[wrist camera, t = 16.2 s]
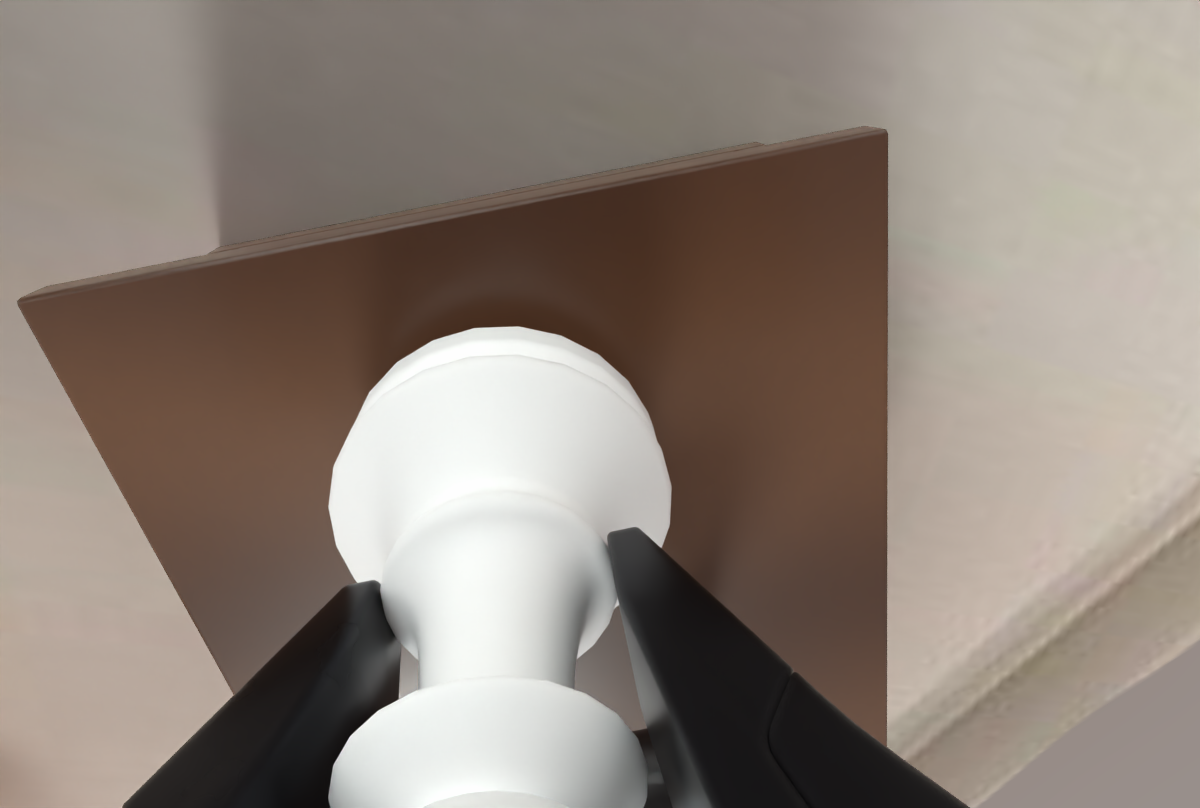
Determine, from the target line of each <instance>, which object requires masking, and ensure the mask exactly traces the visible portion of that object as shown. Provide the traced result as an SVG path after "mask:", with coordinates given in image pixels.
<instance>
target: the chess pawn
mask: <svg viewBox="0 0 1200 808" xmlns="http://www.w3.org/2000/svg"><path fill="white" fill-rule="evenodd" d="M671 491H672V486H671V482H670V478H669V475H668V471H667V467H666V463H665V460H664V456H663V452H662V449H661V447H660V445H659V444H658V442H657V439H656V435H655V432H654V428H653V425H652V422H651V419H650V416H649V414H648V412H647V410H646V408H645V407H644V405H643V404H642V402H641V400H640V399H639V397H638V396H637V394H636V392H635V391H634V389H633V388H632V386H631V385H630V383H629V381H628V380H627V379H626V378H625V377H623V376H622V375H621V374H620V373H619V372H618V371H617V370H616V369H614V368H613V367H612V366H611V365H610V364H609V363H608V362H607V361H605V360H604V359H603V358H602V357H601V356H600V355H599V354H597V353H595V352H593V351H591V350H589V349H587V348H585V347H583V346H581V345H579V344H577V343H575V342H573V341H571V340H569V339H567V338H565V337H563V336H561V335H556V334H552V333H547V332H542V331H538V330H533V329H528V328H524V327H519V326H516V327H488V328H473V329H470V330H466V331H463V332H459V333H456V334H453V335H449V336H446V337H442V338H439V339H436V340H433V341H431V342H429V343H428V344H426V345H424V346H423V347H421V348H419V349H418V350H416V351H415V352H413V353H411V354H410V355H408V356H406V357H405V358H403V359H401V360H400V361H398V362H397V363H396V364H395V365H394V366H393V367H392V368H391V369H390V370H389V371H388V372H387V373H386V375H385V376H384V377H383V378H382V379H381V380H380V381H379V382H378V383H377V384H376V385H375V386H374V388H373V389H372V390H371V391H370V392H369V394H368V396H367V398H366V400H365V402H364V404H363V406H362V408H361V410H360V412H359V415H358V417H357V419H356V421H355V423H354V425H353V427H352V428H351V430H350V432H349V434H348V437H347V439H346V441H345V443H344V445H343V447H342V449H341V451H340V453H339V455H338V458H337V460H336V462H335V464H334V466H333V473H332V481H331V489H330V497H329V505H328V508H329V513H330V518H331V523H332V528H333V533H334V538H335V542H336V546H337V548H338V550H339V552H340V554H341V556H342V557H343V559H344V561H345V563H346V565H347V567H348V568H349V570H350V572H351V574H352V576H353V578H354V579H355V581H356V582H357V583H359V582H364V581H369V580H376V581H378V582H379V583H380V584H381V587H380V593H381V599H382V605H383V609H384V613H385V617H386V619H387V621H388V623H389V625H390V627H391V629H392V631H393V633H394V635H395V637H396V639H397V640H398V641H399V642H400V643H401V644H402V645H403V646H404V647H405V648H406V649H407V650H408V651H409V652H410V653H411V654H412V655H413V656H414V657H415V658H416V659H418V660H419V675H418V690H416V691H414V692H412V693H410V694H408V695H406V696H405V697H403V698H401V699H399V700H397V701H395V702H393V703H391V704H389V705H387V706H386V707H384V708H382V709H380V710H378V711H377V712H376V713H375V714H374V715H373V716H372V717H370V718H369V719H368V720H367V721H366V722H365V723H364V724H363V725H362V726H361V727H359V728H358V729H357V730H356V731H355V732H354V733H353V734H352V735H351V736H350V737H349V739H348V741H347V742H346V744H345V746H344V748H343V749H342V751H341V753H340V754H339V756H338V758H337V760H336V761H335V763H334V765H333V769H332V776H331V782H330V789H329V795H328V800H329V804H330V808H643V807H644V805H645V802H646V799H647V785H648V765H647V762H646V759H645V757H644V754H643V751H642V748H641V746H640V743H639V740H638V738H637V737H636V735H635V734H634V733H633V732H632V731H631V730H630V728H629V727H628V726H627V725H626V724H625V723H624V721H623V720H622V719H621V718H620V717H619V715H618V714H617V713H615V712H614V711H612V710H611V709H609V708H608V707H606V706H605V705H603V704H601V703H600V702H598V701H597V700H595V699H594V698H592V697H591V696H589V695H587V694H586V693H583V692H580V691H577V690H574V685H575V667H576V661H577V659H578V658H579V657H580V656H581V655H583V654H584V653H585V652H586V651H587V650H588V649H590V648H591V647H592V646H593V645H594V644H595V643H596V641H597V640H598V638H599V637H600V636H601V634H602V633H603V631H604V630H605V629H606V627H607V626H608V624H609V622H610V619H611V616H612V613H613V610H614V609H615V608H616V607H617V606H618V605H619V602H618V597H617V593H616V588H615V583H614V577H613V571H612V565H611V559H610V553H609V547H608V541H607V535H608V534H609V533H610V532H612V531H616V530H621V529H626V528H631V527H638V528H640V529H641V530H642V531H643V532H644V533H645V534H646V535H647V536H649V537H650V538H651V539H652V540H653V541H654V542H655V543H656V544H657V545H658V546H659V547H661V548H662V546H663V543H664V540H665V537H666V534H667V532H668V529H669V526H670V513H671Z"/></svg>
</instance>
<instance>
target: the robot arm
mask: <svg viewBox="0 0 1200 808" xmlns="http://www.w3.org/2000/svg"><path fill="white" fill-rule="evenodd" d="M607 541H608V547H609V553H610V559H611V565H612V571H613V577H614V583H615V588H616V593H617V597H618V602H619V607H620V612H621V616H622V621H623V626H624V631H625V636H626V640H627V645H628V650H629V655H630V659H631V664H632V669H633V674H634V678H635V683H636V688H637V693H638V697H639V702H640V706H641V710H642V713H643V717H644V720H645V723H646V727H647V730H648V733H649V736H650V739H651V742H652V745H653V748H654V751H655V754H656V758H657V761H658V764H659V767H660V770H661V773H662V776H663V779H664V782H665V785H666V788H667V792H668V795H669V798H670V801H671V804H672V807H673V808H970V807H968V806H967V805H966V804H964V803H963V802H961V801H960V800H959V799H957V798H956V797H954V796H953V795H952V794H950V793H949V792H948V791H946V790H945V789H943V788H942V787H941V786H939V785H938V784H936V783H935V782H934V781H932V780H931V779H930V778H928V777H927V776H925V775H924V774H923V773H921V772H920V771H918V770H917V769H916V768H914V767H913V766H912V765H910V764H909V763H907V762H906V761H905V760H903V759H902V758H900V757H899V756H898V755H897V754H895V753H894V752H893V751H891V750H890V749H889V748H887V747H886V746H885V745H883V744H882V743H881V742H879V741H878V740H877V739H875V738H874V737H873V736H871V735H870V734H869V733H867V732H866V731H865V730H863V729H862V728H861V727H860V726H858V725H857V724H856V723H854V722H853V721H852V720H851V719H850V718H849V717H847V716H846V715H845V714H844V713H843V712H842V711H840V710H839V709H838V708H837V707H836V706H835V705H833V704H832V703H831V702H830V701H829V700H828V699H826V698H825V697H824V696H823V695H822V694H821V693H819V692H818V691H817V690H816V689H815V688H814V687H813V686H812V685H811V684H810V683H809V682H808V681H807V680H805V679H804V678H803V677H802V676H801V675H800V674H799V673H797V672H794V671H793V668H792V667H791V666H790V665H789V664H788V663H786V662H785V661H784V660H783V659H782V658H781V657H780V656H779V655H778V654H777V653H775V652H774V651H773V650H772V649H771V648H770V647H769V646H768V645H767V644H766V643H765V642H763V641H762V640H761V639H760V638H759V637H758V636H757V635H756V634H755V633H754V632H753V631H751V630H750V629H749V628H748V627H747V626H746V625H745V624H744V623H743V622H742V621H740V620H739V619H738V618H737V617H736V616H735V615H734V614H733V613H732V612H731V611H730V610H728V609H727V608H726V607H725V606H724V605H723V604H722V603H721V602H720V601H719V600H717V599H716V598H715V597H714V596H713V595H712V594H711V593H710V592H709V591H708V590H707V589H705V588H704V587H703V586H702V585H701V584H700V583H699V582H698V581H697V580H696V579H694V578H693V577H692V576H691V575H690V574H689V573H688V572H687V571H686V570H685V569H684V568H682V567H681V566H680V565H679V564H678V563H677V562H676V561H675V560H674V559H673V558H672V557H670V556H669V555H668V554H667V553H666V552H665V551H664V550H663V549H662V548H661V547H659V546H658V545H657V544H656V543H655V542H654V541H653V540H652V539H651V538H650V537H649V536H647V535H646V534H645V533H644V532H643V531H642V530H641V529H640V528H638V527H631V528H626V529H621V530H616V531H612V532H610V533H609V534H608V535H607ZM380 587H381V584H380V583H379V582H378V581H376V580H369V581H364V582H359V583H354V584H350V585H347V586H345V587H343V588H342V589H341V590H340V591H339V592H338V593H337V594H336V595H335V596H334V597H333V598H332V599H331V600H330V601H329V602H328V603H327V604H326V605H325V606H324V607H323V608H322V609H321V610H320V611H319V612H318V613H317V614H316V615H315V616H314V617H313V618H312V619H311V620H310V621H309V622H308V623H307V624H306V625H305V626H304V627H303V628H302V629H301V630H300V631H299V632H297V633H296V634H295V635H294V636H293V637H292V638H291V639H290V640H289V641H288V642H287V643H286V644H285V645H284V646H283V647H282V648H281V649H280V650H279V651H278V652H277V653H276V654H275V655H274V656H273V657H272V658H271V659H270V660H269V661H268V662H267V663H266V664H265V665H264V666H263V667H262V668H261V669H260V670H259V671H258V672H257V673H256V674H255V675H254V676H253V677H252V678H251V679H250V680H249V681H248V682H247V683H246V684H245V685H244V686H243V687H242V688H241V689H240V690H239V691H238V692H237V693H236V694H235V695H234V696H233V697H232V698H231V699H230V700H229V701H228V702H227V703H226V704H225V705H224V706H223V707H222V708H221V709H220V710H219V711H218V712H217V713H216V714H215V715H214V716H213V717H212V718H211V719H210V720H209V721H208V722H207V723H205V724H204V725H203V726H202V727H201V728H200V729H199V730H198V731H197V732H196V733H195V734H194V735H193V736H192V737H191V738H190V739H189V740H188V741H187V742H186V743H185V744H184V745H183V746H182V747H181V748H180V749H179V750H178V751H177V752H176V753H175V754H174V755H173V756H172V757H171V758H170V759H169V760H168V761H167V762H166V763H165V764H164V765H163V766H162V767H161V768H160V769H159V770H158V771H157V772H156V773H155V774H154V775H153V776H152V777H151V778H150V779H149V780H148V781H147V782H146V783H145V784H144V785H143V786H142V787H141V788H140V789H139V790H138V791H137V792H136V793H135V794H134V795H133V796H132V797H131V798H130V799H129V800H128V801H127V802H125V803H124V805H123V807H122V808H330V804H329V800H328V795H329V789H330V782H331V776H332V769H333V765H334V763H335V761H336V760H337V758H338V756H339V754H340V753H341V751H342V749H343V748H344V746H345V744H346V742H347V741H348V739H349V737H350V736H351V735H352V734H353V733H354V732H355V731H356V730H357V729H358V728H359V727H361V726H362V725H363V724H364V723H365V722H366V721H367V720H368V719H369V718H370V717H372V716H373V715H374V714H375V713H376V712H377V711H378V710H380V709H382V708H384V707H386V706H387V705H389V704H391V703H393V702H395V701H397V700H399V682H400V661H401V643H400V642H399V641H398V640H397V639H396V637H395V635H394V633H393V631H392V629H391V627H390V625H389V623H388V621H387V619H386V617H385V613H384V609H383V605H382V599H381V593H380Z"/></svg>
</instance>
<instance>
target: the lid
mask: <svg viewBox="0 0 1200 808" xmlns="http://www.w3.org/2000/svg"><path fill="white" fill-rule="evenodd" d="M17 304H18V306H19V308H20V310H21V312H22V314H23V315H24V317H25V319H26V321H27V323H28V324H29V326H30V328H31V330H32V332H33V333H34V335H35V337H36V339H37V341H38V343H39V344H40V346H41V348H42V350H43V352H44V353H45V355H46V357H47V359H48V361H49V362H50V364H51V366H52V368H53V370H54V371H55V373H56V375H57V377H58V379H59V380H60V382H61V384H62V386H63V388H64V389H65V391H66V393H67V395H68V397H69V398H70V400H71V402H72V404H73V406H74V407H75V409H76V411H77V413H78V415H79V416H80V418H81V420H82V422H83V424H84V425H85V427H86V429H87V431H88V433H89V434H90V436H91V438H92V440H93V442H94V443H95V445H96V447H97V449H98V451H99V452H100V454H101V456H102V458H103V460H104V461H105V463H106V465H107V467H108V469H109V470H110V472H111V474H112V476H113V478H114V480H115V481H116V483H117V485H118V487H119V489H120V490H121V492H122V494H123V496H124V498H125V499H126V501H127V503H128V505H129V507H130V508H131V510H132V512H133V514H134V516H135V517H136V519H137V521H138V523H139V525H140V526H141V528H142V530H143V532H144V534H145V535H146V537H147V539H148V541H149V543H150V544H151V546H152V548H153V550H154V552H155V553H156V555H157V557H158V559H159V561H160V562H161V564H162V566H163V568H164V570H165V571H166V573H167V575H168V577H169V579H170V580H171V582H172V584H173V586H174V588H175V589H176V591H177V593H178V595H179V597H180V598H181V600H182V602H183V604H184V606H185V607H186V609H187V611H188V613H189V615H190V617H191V618H192V620H193V622H194V624H195V626H196V627H197V629H198V631H199V633H200V635H201V636H202V638H203V640H204V642H205V644H206V645H207V647H208V649H209V651H210V653H211V654H212V656H213V658H214V660H215V662H216V663H217V665H218V667H219V669H220V671H221V672H222V674H223V676H224V678H225V680H226V681H227V683H228V685H229V687H230V689H231V690H232V692H233V694H234V695H235V694H236V693H237V692H238V691H239V690H240V689H241V688H242V687H243V686H244V685H245V684H246V683H247V682H248V681H249V680H250V679H251V678H252V677H253V676H254V675H255V674H256V673H257V672H258V671H259V670H260V669H261V668H262V667H263V666H264V665H265V664H266V663H267V662H268V661H269V660H270V659H271V658H272V657H273V656H274V655H275V654H276V653H277V652H278V651H279V650H280V649H281V648H282V647H283V646H284V645H285V644H286V643H287V642H288V641H289V640H290V639H291V638H292V637H293V636H294V635H295V634H296V633H297V632H299V631H300V630H301V629H302V628H303V627H304V626H305V625H306V624H307V623H308V622H309V621H310V620H311V619H312V618H313V617H314V616H315V615H316V614H317V613H318V612H319V611H320V610H321V609H322V608H323V607H324V606H325V605H326V604H327V603H328V602H329V601H330V600H331V599H332V598H333V597H334V596H335V595H336V594H337V593H338V592H339V591H340V590H341V589H342V588H343V587H345V586H347V585H350V584H354V583H357V582H356V581H355V579H354V578H353V576H352V574H351V572H350V570H349V568H348V567H347V565H346V563H345V561H344V559H343V557H342V556H341V554H340V552H339V550H338V548H337V546H336V542H335V538H334V533H333V528H332V523H331V518H330V513H329V508H328V505H329V497H330V489H331V481H332V473H333V466H334V464H335V462H336V460H337V458H338V455H339V453H340V451H341V449H342V447H343V445H344V443H345V441H346V439H347V437H348V434H349V432H350V430H351V428H352V427H353V425H354V423H355V421H356V419H357V417H358V415H359V412H360V410H361V408H362V406H363V404H364V402H365V400H366V398H367V396H368V394H369V392H370V391H371V390H372V389H373V388H374V386H375V385H376V384H377V383H378V382H379V381H380V380H381V379H382V378H383V377H384V376H385V375H386V373H387V372H388V371H389V370H390V369H391V368H392V367H393V366H394V365H395V364H396V363H397V362H398V361H400V360H401V359H403V358H405V357H406V356H408V355H410V354H411V353H413V352H415V351H416V350H418V349H419V348H421V347H423V346H424V345H426V344H428V343H429V342H431V341H433V340H436V339H439V338H442V337H446V336H449V335H453V334H456V333H459V332H463V331H466V330H470V329H473V328H488V327H516V326H519V327H524V328H528V329H533V330H538V331H542V332H547V333H552V334H556V335H561V336H563V337H565V338H567V339H569V340H571V341H573V342H575V343H577V344H579V345H581V346H583V347H585V348H587V349H589V350H591V351H593V352H595V353H597V354H599V355H600V356H601V357H602V358H603V359H604V360H605V361H607V362H608V363H609V364H610V365H611V366H612V367H613V368H614V369H616V370H617V371H618V372H619V373H620V374H621V375H622V376H623V377H625V378H626V379H627V380H628V381H629V383H630V385H631V386H632V388H633V389H634V391H635V392H636V394H637V396H638V397H639V399H640V400H641V402H642V404H643V405H644V407H645V408H646V410H647V412H648V414H649V416H650V419H651V422H652V425H653V428H654V432H655V435H656V439H657V442H658V444H659V445H660V447H661V449H662V452H663V456H664V460H665V463H666V467H667V471H668V475H669V478H670V482H671V486H672V491H671V513H670V526H669V529H668V532H667V534H666V537H665V540H664V543H663V546H662V549H663V550H664V551H665V552H666V553H667V554H668V555H669V556H670V557H672V558H673V559H674V560H675V561H676V562H677V563H678V564H679V565H680V566H681V567H682V568H684V569H685V570H686V571H687V572H688V573H689V574H690V575H691V576H692V577H693V578H694V579H696V580H697V581H698V582H699V583H700V584H701V585H702V586H703V587H704V588H705V589H707V590H708V591H709V592H710V593H711V594H712V595H713V596H714V597H715V598H716V599H717V600H719V601H720V602H721V603H722V604H723V605H724V606H725V607H726V608H727V609H728V610H730V611H731V612H732V613H733V614H734V615H735V616H736V617H737V618H738V619H739V620H740V621H742V622H743V623H744V624H745V625H746V626H747V627H748V628H749V629H750V630H751V631H753V632H754V633H755V634H756V635H757V636H758V637H759V638H760V639H761V640H762V641H763V642H765V643H766V644H767V645H768V646H769V647H770V648H771V649H772V650H773V651H774V652H775V653H777V654H778V655H779V656H780V657H781V658H782V659H783V660H784V661H785V662H786V663H788V664H789V665H790V666H791V667H792V668H793V671H794V672H797V673H799V674H800V675H801V676H802V677H803V678H804V679H805V680H807V681H808V682H809V683H810V684H811V685H812V686H813V687H814V688H815V689H816V690H817V691H818V692H819V693H821V694H822V695H823V696H824V697H825V698H826V699H828V700H829V701H830V702H831V703H832V704H833V705H835V706H836V707H837V708H838V709H839V710H840V711H842V712H843V713H844V714H845V715H846V716H847V717H849V718H850V719H851V720H852V721H853V722H854V723H856V724H857V725H858V726H860V727H861V728H862V729H863V730H865V731H866V732H867V733H869V734H870V735H871V736H873V737H874V738H875V739H877V740H878V741H879V742H881V743H882V744H883V745H885V746H886V747H887V346H888V133H887V130H885V129H881V128H875V127H868V126H862V127H857V128H852V129H847V130H842V131H836V132H831V133H826V134H821V135H816V136H811V137H806V138H801V139H796V140H790V141H785V142H780V143H775V144H770V145H765V146H760V147H755V148H750V149H745V150H739V151H734V152H729V153H724V154H719V155H714V156H709V157H704V158H699V159H693V160H688V161H683V162H678V163H673V164H668V165H663V166H658V167H653V168H648V169H642V170H637V171H632V172H627V173H622V174H617V175H612V176H607V177H602V178H597V179H591V180H586V181H581V182H576V183H571V184H566V185H561V186H556V187H551V188H545V189H540V190H535V191H530V192H525V193H520V194H515V195H510V196H505V197H500V198H494V199H489V200H484V201H479V202H474V203H469V204H464V205H459V206H454V207H449V208H443V209H438V210H433V211H428V212H423V213H418V214H413V215H408V216H403V217H397V218H392V219H387V220H382V221H377V222H372V223H367V224H362V225H357V226H352V227H346V228H341V229H336V230H331V231H326V232H321V233H316V234H311V235H306V236H301V237H295V238H290V239H285V240H280V241H275V242H270V243H265V244H260V245H255V246H249V247H244V248H239V249H234V250H229V251H224V252H219V253H214V254H209V255H204V256H198V257H193V258H188V259H183V260H178V261H173V262H168V263H163V264H158V265H153V266H147V267H142V268H137V269H132V270H127V271H122V272H117V273H112V274H107V275H101V276H96V277H91V278H86V279H81V280H76V281H71V282H66V283H61V284H56V285H50V286H46V287H44V288H41V289H39V290H37V291H35V292H32V293H30V294H28V295H26V296H23V297H21V298H20V299H19V300H18V301H17ZM418 675H419V660H418V659H416V658H415V657H414V656H413V655H412V654H411V653H410V652H409V651H408V650H407V649H406V648H405V647H404V646H403V645H402V644H401V661H400V682H399V699H401V698H403V697H405V696H406V695H408V694H410V693H412V692H414V691H416V690H418ZM574 690H577V691H580V692H583V693H586V694H587V695H589V696H591V697H592V698H594V699H595V700H597V701H598V702H600V703H601V704H603V705H605V706H606V707H608V708H609V709H611V710H612V711H614V712H615V713H617V714H618V715H619V717H620V718H621V719H622V720H623V721H624V723H625V724H626V725H627V726H628V727H629V728H630V730H631V731H632V732H633V733H634V734H635V735H636V737H637V738H638V740H639V743H640V746H641V748H642V751H643V754H644V757H645V759H646V762H647V765H648V785H647V799H646V802H645V805H644V807H643V808H673V807H672V804H671V801H670V798H669V795H668V792H667V788H666V785H665V782H664V779H663V776H662V773H661V770H660V767H659V764H658V761H657V758H656V754H655V751H654V748H653V745H652V742H651V739H650V736H649V733H648V730H647V727H646V723H645V720H644V717H643V713H642V710H641V706H640V702H639V697H638V693H637V688H636V683H635V678H634V674H633V669H632V664H631V659H630V655H629V650H628V645H627V640H626V636H625V631H624V626H623V621H622V616H621V612H620V607H619V605H618V606H617V607H616V608H615V609H614V610H613V613H612V616H611V619H610V622H609V624H608V626H607V627H606V629H605V630H604V631H603V633H602V634H601V636H600V637H599V638H598V640H597V641H596V643H595V644H594V645H593V646H592V647H591V648H590V649H588V650H587V651H586V652H585V653H584V654H583V655H581V656H580V657H579V658H578V659H577V661H576V667H575V685H574Z"/></svg>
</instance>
